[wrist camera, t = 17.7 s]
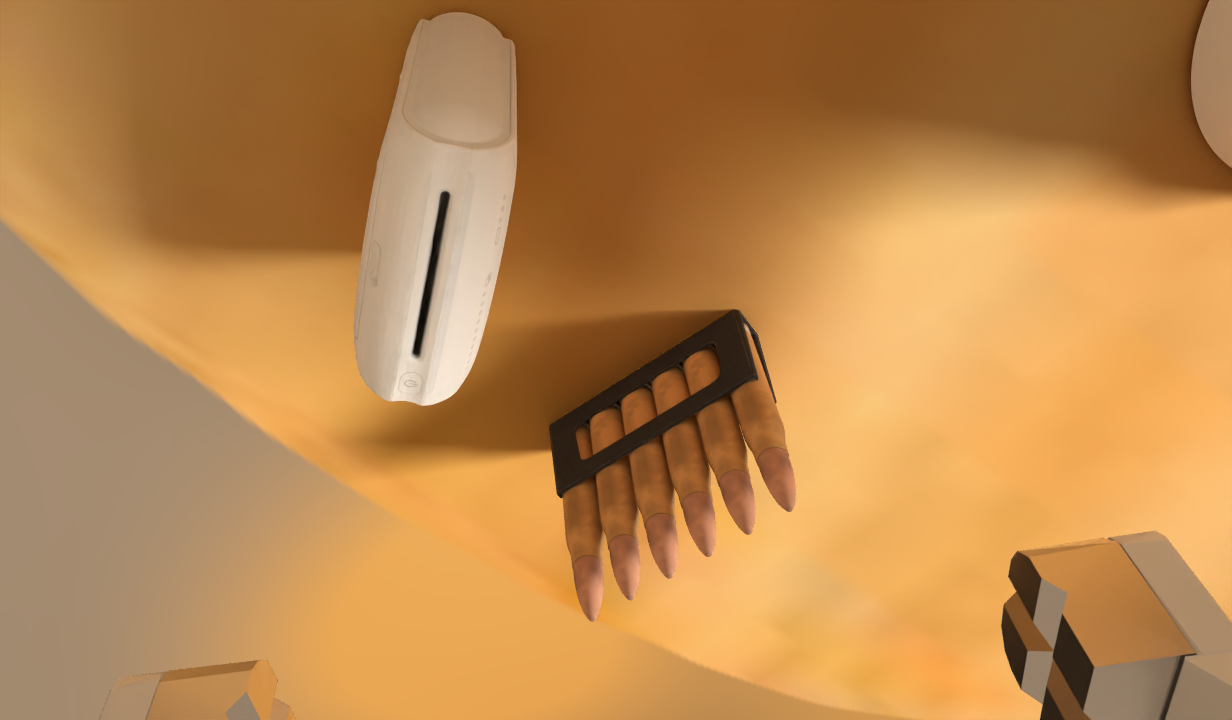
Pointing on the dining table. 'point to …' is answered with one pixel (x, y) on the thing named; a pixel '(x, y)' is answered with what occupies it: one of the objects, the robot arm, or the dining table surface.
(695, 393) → the ammunition clip
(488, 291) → the photo printer
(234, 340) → the dining table surface
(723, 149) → the dining table surface
